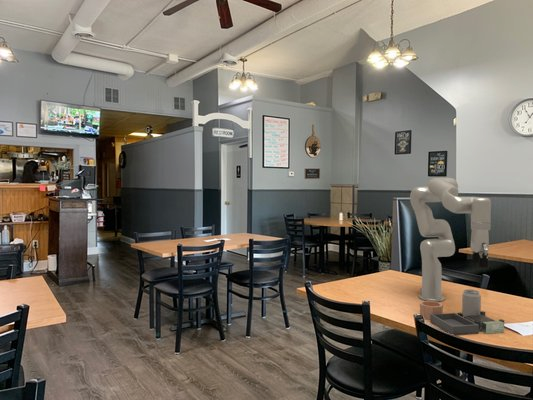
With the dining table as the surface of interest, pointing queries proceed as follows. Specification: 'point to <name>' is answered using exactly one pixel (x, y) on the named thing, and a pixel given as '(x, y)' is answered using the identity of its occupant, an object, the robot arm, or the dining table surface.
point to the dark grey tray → (454, 323)
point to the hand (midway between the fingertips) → (479, 264)
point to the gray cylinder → (471, 302)
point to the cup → (430, 308)
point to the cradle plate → (478, 319)
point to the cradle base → (490, 325)
